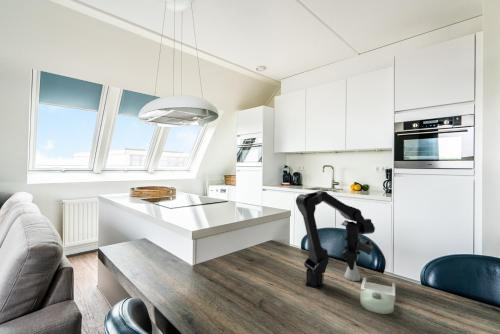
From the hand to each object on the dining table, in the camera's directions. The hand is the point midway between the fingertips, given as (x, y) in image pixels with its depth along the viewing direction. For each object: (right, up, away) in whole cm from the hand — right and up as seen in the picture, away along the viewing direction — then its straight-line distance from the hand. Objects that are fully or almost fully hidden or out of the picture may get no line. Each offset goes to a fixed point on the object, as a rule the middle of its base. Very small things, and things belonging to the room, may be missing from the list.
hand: (352, 269), depth 117 cm
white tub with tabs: (+3, -4, -18) cm, 19 cm away
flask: (0, -4, 0) cm, 4 cm away
